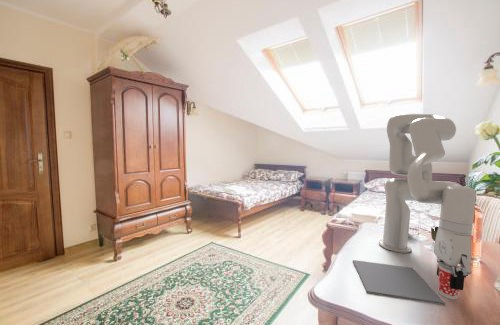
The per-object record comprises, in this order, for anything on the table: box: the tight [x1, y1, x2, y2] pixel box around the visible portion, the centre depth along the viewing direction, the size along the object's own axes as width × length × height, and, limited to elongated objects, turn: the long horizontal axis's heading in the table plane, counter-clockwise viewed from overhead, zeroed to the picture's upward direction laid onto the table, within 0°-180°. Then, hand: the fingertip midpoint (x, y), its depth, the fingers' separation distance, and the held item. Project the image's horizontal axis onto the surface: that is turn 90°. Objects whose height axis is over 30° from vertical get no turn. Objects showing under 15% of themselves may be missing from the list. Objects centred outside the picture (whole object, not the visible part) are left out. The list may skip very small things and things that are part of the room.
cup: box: [430, 226, 439, 242], centre depth 110 cm, size 8×7×8 cm
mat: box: [352, 259, 445, 306], centre depth 80 cm, size 20×21×1 cm
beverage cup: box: [437, 262, 461, 300], centre depth 72 cm, size 6×6×14 cm
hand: (449, 281), depth 73 cm, fingers closed on beverage cup, 6 cm apart
